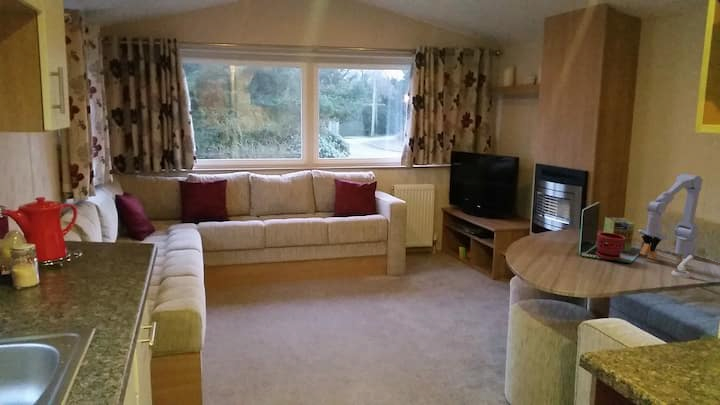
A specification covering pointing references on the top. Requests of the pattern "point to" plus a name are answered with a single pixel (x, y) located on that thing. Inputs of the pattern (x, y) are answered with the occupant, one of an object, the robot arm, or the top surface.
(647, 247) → the block
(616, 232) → the protein box
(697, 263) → the top surface
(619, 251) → the plant pot
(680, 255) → the stand
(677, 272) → the hook
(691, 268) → the top surface
